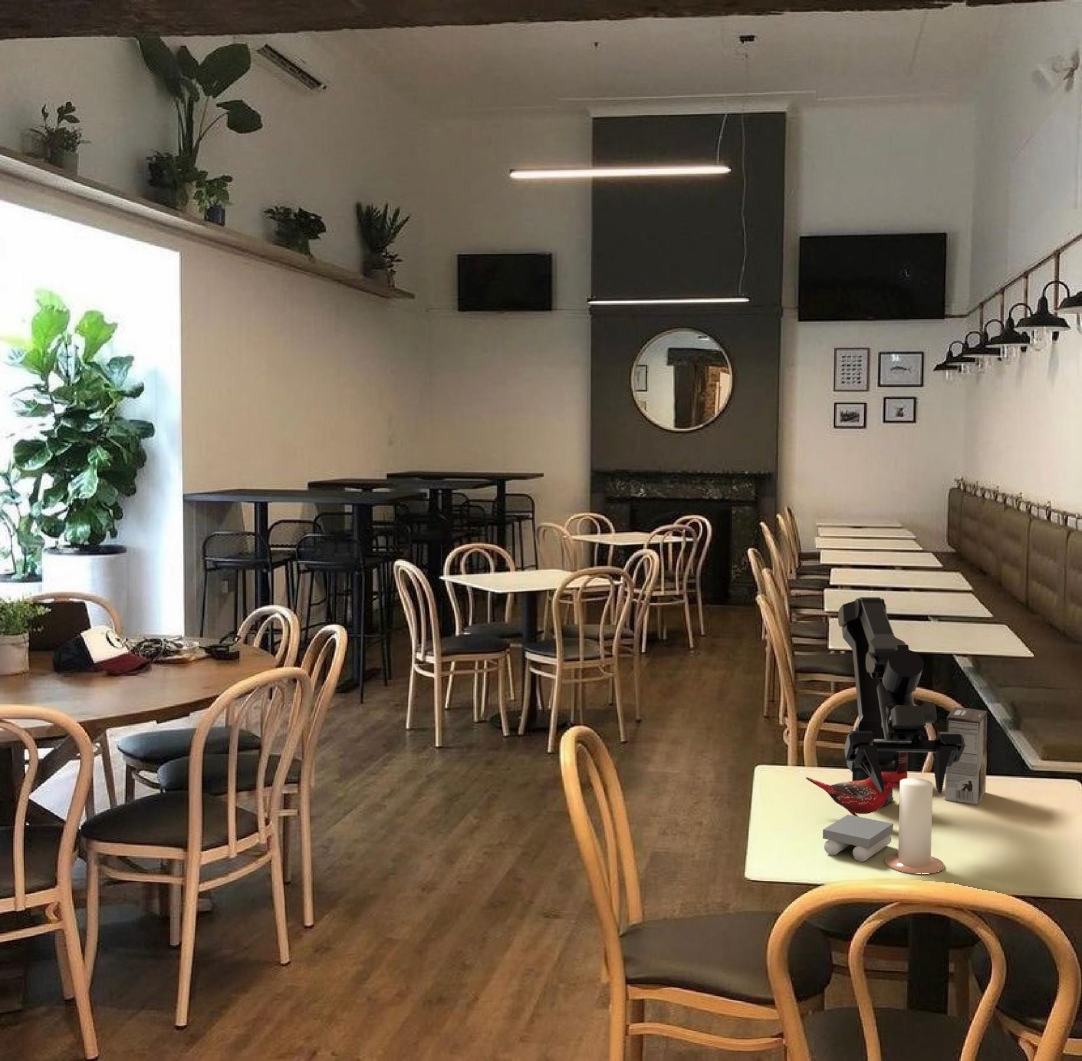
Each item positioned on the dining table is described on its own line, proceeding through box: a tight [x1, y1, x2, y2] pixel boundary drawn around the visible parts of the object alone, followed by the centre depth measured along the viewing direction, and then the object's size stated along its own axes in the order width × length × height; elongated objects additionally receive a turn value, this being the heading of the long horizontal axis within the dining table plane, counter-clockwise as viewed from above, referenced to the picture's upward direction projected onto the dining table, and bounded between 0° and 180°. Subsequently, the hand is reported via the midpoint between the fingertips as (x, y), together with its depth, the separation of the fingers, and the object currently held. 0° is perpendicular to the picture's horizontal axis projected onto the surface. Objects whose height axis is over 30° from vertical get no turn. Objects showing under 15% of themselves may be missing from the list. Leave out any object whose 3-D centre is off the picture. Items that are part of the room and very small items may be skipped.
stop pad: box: [884, 852, 945, 875], centre depth 196 cm, size 9×9×1 cm
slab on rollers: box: [822, 814, 894, 863], centre depth 203 cm, size 8×10×4 cm
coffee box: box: [944, 707, 988, 805], centre depth 232 cm, size 9×6×16 cm
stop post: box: [897, 777, 934, 868], centre depth 196 cm, size 5×5×13 cm
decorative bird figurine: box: [805, 772, 898, 817], centre depth 218 cm, size 3×18×10 cm, turn 50°
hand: (911, 792), depth 198 cm, fingers open, 9 cm apart
